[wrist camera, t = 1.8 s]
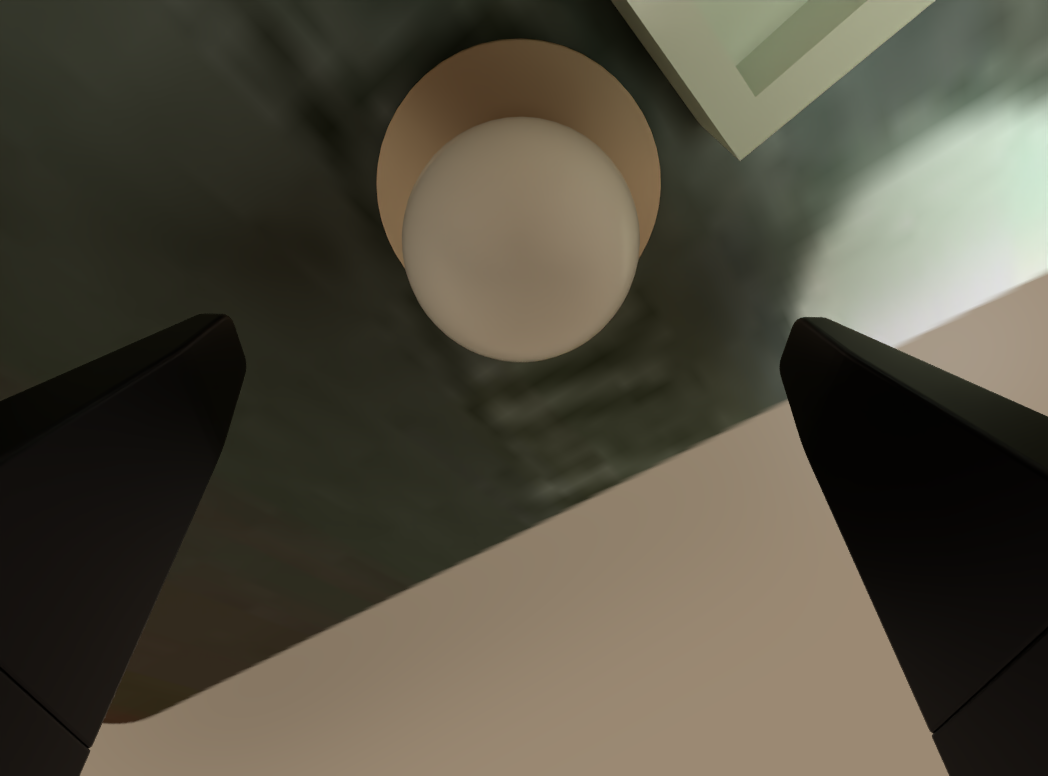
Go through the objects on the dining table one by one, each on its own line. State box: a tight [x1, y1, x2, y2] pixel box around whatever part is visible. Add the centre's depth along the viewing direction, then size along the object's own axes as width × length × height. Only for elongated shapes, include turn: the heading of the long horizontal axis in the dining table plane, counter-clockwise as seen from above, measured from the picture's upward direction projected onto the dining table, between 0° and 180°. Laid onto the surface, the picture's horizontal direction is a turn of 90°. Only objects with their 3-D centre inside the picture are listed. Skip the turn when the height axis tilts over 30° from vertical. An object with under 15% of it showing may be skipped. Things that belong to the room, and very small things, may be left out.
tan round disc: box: [376, 38, 661, 268], centre depth 14 cm, size 7×7×1 cm
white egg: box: [402, 117, 640, 362], centre depth 12 cm, size 5×5×5 cm
